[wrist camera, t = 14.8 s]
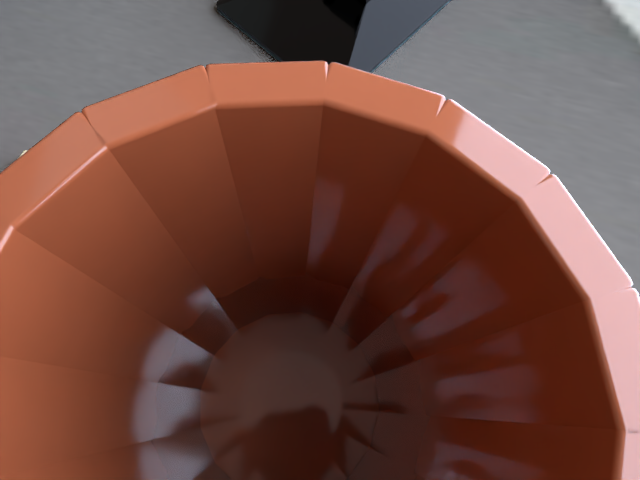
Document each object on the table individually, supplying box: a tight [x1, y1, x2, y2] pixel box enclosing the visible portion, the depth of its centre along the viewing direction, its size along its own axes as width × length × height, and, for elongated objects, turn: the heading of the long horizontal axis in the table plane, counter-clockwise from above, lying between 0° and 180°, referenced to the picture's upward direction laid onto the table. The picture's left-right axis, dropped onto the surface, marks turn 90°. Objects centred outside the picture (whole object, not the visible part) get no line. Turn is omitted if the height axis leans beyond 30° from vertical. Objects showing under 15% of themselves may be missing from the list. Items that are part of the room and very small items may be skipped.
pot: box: [0, 61, 640, 480], centre depth 10 cm, size 7×7×12 cm
